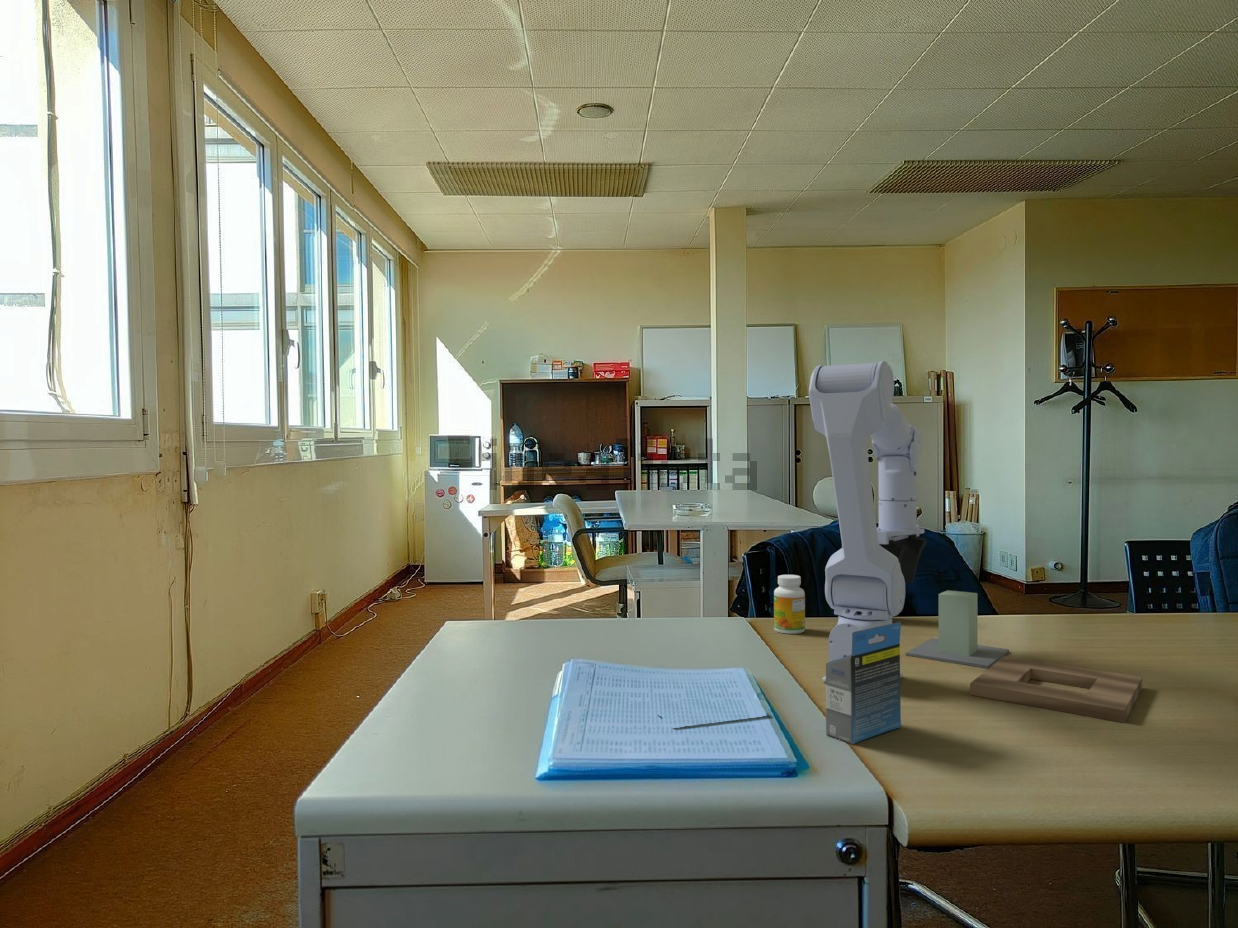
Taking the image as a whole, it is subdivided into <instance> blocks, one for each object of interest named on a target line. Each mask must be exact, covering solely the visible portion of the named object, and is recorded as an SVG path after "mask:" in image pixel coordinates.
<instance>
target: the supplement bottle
mask: <svg viewBox="0 0 1238 928" xmlns="http://www.w3.org/2000/svg"><path fill="white" fill-rule="evenodd" d="M801 580H802V579H801V576H800V575H797V574H781V575H778V576H777V584H778V587H776V588H774V590H773V629H774V631H775V632H777V633H780V634H786V635H787V634H789V635H797V634H801V633H803V632H805V630H806V595H805V594H806V593H805V590H804V589H803V588H802V587H800V586H801V583H802V581H801Z"/></svg>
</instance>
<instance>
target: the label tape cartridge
mask: <svg viewBox="0 0 1238 928" xmlns="http://www.w3.org/2000/svg"><path fill="white" fill-rule="evenodd" d="M901 629H902V623H901V621H897V622H894V623H892V624H889V625H884V626H879V627H875V628H870V629H866V630H861V631H856V632H853V633H852V654H851V655H849V656H846V657H843V658H839V659H836V660H833V661H829V660H828V661H826V662H825V676H826V682H825V735H826V736H828V737H830V738H832V739H835V738H837V739H836V740H838V739H840V740H839V741H841V742H844V743H847V744H850V745H855V744H857V743H860V742H862V741H865V740H867V739H870V738H872V737H876V736H878V735H882V734H884V733H887V732H891V731H893V730H896V729H898V728H902V725H901V724H902V718H901V717H902V715H901V713H902V712H901V709H902V708H901V678H900V672H901V651H900V650H901V648H900V647H901V646H900V645H901V644H900V643H901V642H900V641H901V640H900V639H901ZM876 634H877V635H878V636H879V637H880V636H884V640H883V641H880V642H876V643H872V644H869V642H868V641H869V639H872V638H874V637H875V636H876Z"/></svg>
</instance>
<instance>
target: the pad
mask: <svg viewBox="0 0 1238 928" xmlns="http://www.w3.org/2000/svg"><path fill="white" fill-rule="evenodd" d="M1009 652H1010V649H1009V648H1002V647H996V646H988V645H983V644H982V645H981V644H977V651H976V652H974V653H973V654H972V655H970V656H964V655H957V654H951V653H944V652H939V638H928V639H927V640H925V641H924V642H922V643H920V644H918V645H917V646H915V647H913V648H911V649H910V650H908V651H906V652H905V656H909V657H914V658H922V659H928V660H934V661H940V662H947V663H952V664H959V665H965V666H971V667H978V668H984V669H989V668H990V667H991V666H992V665H994V664H995V663H996V662H997V661H999V660H1000V659H1001V658H1002V657H1004V656H1005V657H1006V655H1008V653H1009Z"/></svg>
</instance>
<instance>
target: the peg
mask: <svg viewBox="0 0 1238 928" xmlns="http://www.w3.org/2000/svg"><path fill="white" fill-rule="evenodd" d="M938 639H939V652H944V653H951V654H957V655H964V656H970V655H972V654H973V653H974V652H976V651H977V645H978V593H977V592H970V591H960V590H959V591H958V590H950V589H949V590H948V589H947V590H945V591H942V592H940V593H938Z"/></svg>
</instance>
